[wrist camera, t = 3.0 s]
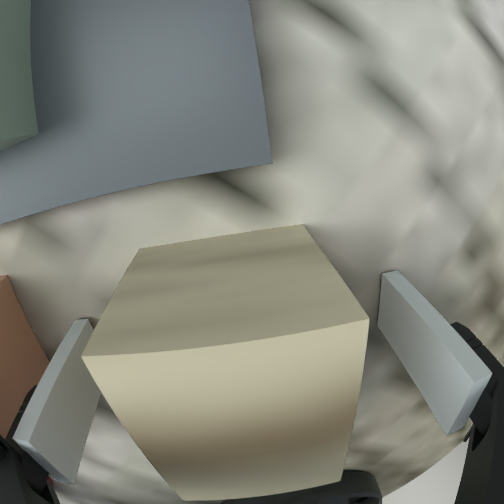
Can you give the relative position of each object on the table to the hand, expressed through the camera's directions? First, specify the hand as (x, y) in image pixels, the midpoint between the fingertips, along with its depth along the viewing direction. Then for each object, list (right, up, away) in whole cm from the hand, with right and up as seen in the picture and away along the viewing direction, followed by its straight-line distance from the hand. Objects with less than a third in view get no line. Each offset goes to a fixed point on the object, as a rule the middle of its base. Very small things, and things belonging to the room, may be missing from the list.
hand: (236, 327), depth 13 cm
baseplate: (-10, +11, -5) cm, 15 cm away
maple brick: (0, 0, 0) cm, 0 cm away
